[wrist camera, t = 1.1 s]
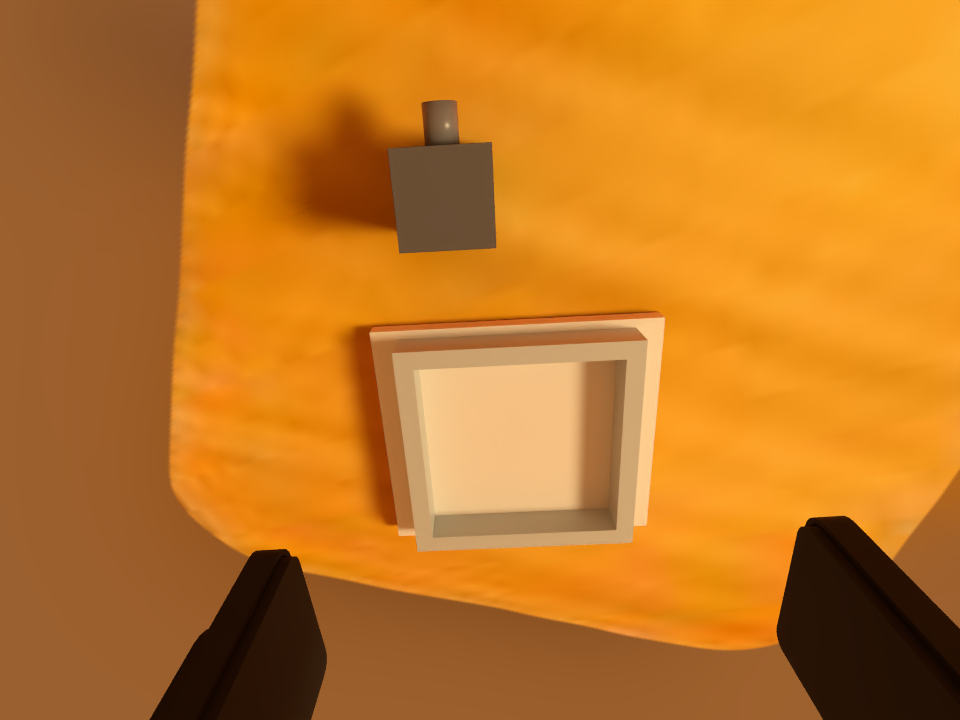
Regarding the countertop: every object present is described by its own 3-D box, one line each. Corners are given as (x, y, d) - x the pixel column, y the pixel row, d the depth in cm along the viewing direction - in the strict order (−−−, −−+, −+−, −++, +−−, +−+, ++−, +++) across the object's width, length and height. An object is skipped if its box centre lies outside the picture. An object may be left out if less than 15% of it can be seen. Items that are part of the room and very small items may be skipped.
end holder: (373, 326, 28) (361, 345, 25) (658, 311, 28) (678, 329, 25) (401, 525, 33) (394, 558, 31) (641, 515, 33) (656, 548, 30)
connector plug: (405, 114, 24) (382, 101, 18) (487, 109, 24) (489, 95, 18) (417, 233, 26) (399, 253, 21) (493, 228, 26) (496, 247, 20)
